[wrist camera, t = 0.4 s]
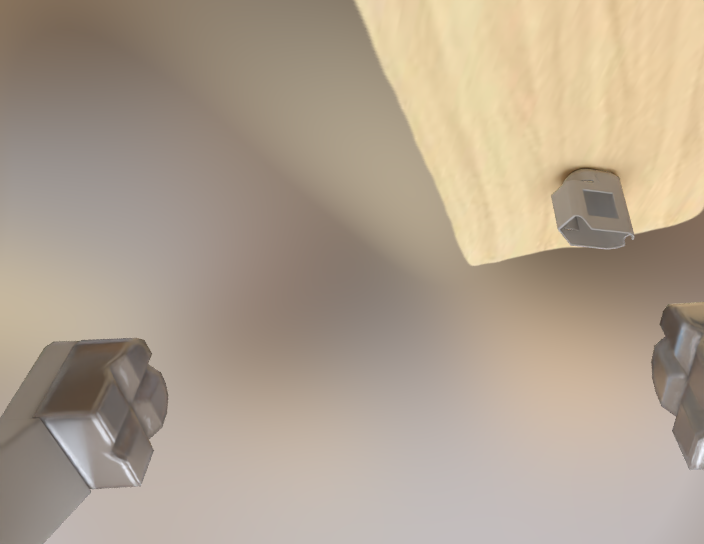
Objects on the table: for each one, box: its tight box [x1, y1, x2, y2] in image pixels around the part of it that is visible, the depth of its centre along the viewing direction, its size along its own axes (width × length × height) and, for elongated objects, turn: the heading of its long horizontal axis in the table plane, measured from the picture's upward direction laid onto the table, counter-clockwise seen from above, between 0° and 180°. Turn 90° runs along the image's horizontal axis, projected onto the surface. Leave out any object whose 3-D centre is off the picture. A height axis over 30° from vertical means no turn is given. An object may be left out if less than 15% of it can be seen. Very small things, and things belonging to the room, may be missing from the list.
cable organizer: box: [551, 169, 634, 249], centre depth 100 cm, size 7×12×12 cm, turn 75°
